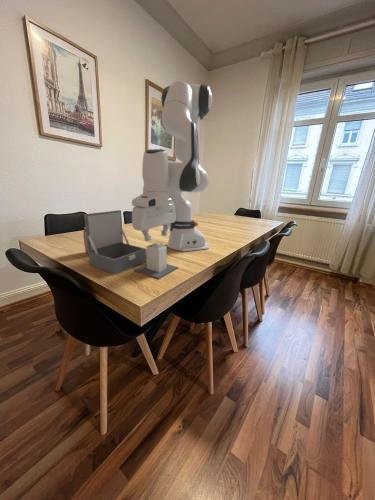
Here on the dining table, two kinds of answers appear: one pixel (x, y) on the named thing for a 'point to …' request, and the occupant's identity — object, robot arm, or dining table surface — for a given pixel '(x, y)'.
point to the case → (110, 243)
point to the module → (156, 257)
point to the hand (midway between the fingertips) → (156, 237)
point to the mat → (154, 273)
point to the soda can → (85, 240)
